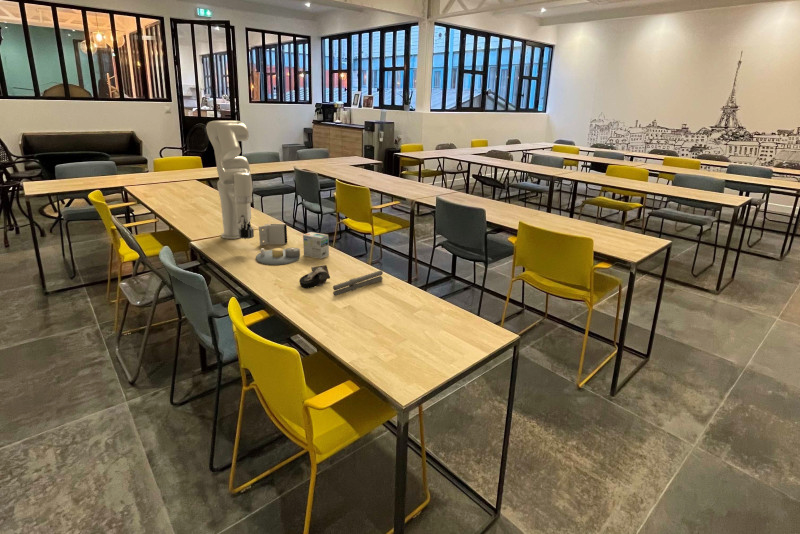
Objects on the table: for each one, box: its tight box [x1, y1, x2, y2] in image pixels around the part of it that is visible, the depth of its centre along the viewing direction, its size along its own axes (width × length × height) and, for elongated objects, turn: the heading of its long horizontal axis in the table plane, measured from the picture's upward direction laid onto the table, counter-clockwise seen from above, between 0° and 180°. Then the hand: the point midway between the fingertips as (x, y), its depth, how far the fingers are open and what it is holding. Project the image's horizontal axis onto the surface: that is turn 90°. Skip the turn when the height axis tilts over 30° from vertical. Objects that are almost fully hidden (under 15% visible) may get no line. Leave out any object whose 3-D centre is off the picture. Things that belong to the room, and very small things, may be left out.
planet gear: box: [238, 226, 255, 240], centre depth 222 cm, size 7×7×4 cm
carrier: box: [255, 247, 301, 266], centre depth 219 cm, size 20×20×4 cm
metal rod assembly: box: [332, 269, 384, 297], centre depth 189 cm, size 26×3×5 cm, turn 136°
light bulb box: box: [302, 231, 330, 260], centre depth 223 cm, size 11×7×11 cm, turn 65°
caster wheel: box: [298, 264, 331, 290], centre depth 190 cm, size 7×11×10 cm
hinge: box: [258, 223, 288, 246], centre depth 239 cm, size 14×5×10 cm, turn 106°
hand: (246, 234), depth 223 cm, fingers closed on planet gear, 6 cm apart
